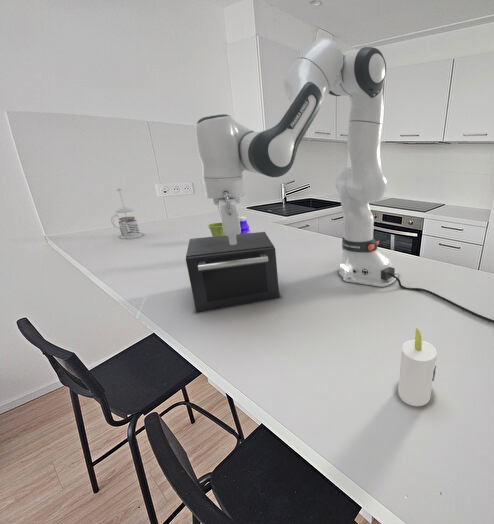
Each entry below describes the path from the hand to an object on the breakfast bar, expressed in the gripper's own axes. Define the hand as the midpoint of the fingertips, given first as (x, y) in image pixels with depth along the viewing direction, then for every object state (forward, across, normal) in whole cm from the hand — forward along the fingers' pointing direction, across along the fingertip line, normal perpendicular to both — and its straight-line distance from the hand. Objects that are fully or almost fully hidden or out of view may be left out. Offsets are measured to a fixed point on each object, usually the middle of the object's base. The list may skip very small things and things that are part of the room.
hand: (233, 243), depth 77 cm
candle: (+22, -43, -28) cm, 56 cm away
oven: (+22, +18, 0) cm, 28 cm away
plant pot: (+22, +80, +4) cm, 84 cm away
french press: (+22, +107, +48) cm, 120 cm away
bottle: (+22, +53, -6) cm, 57 cm away
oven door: (+22, +6, +1) cm, 22 cm away
